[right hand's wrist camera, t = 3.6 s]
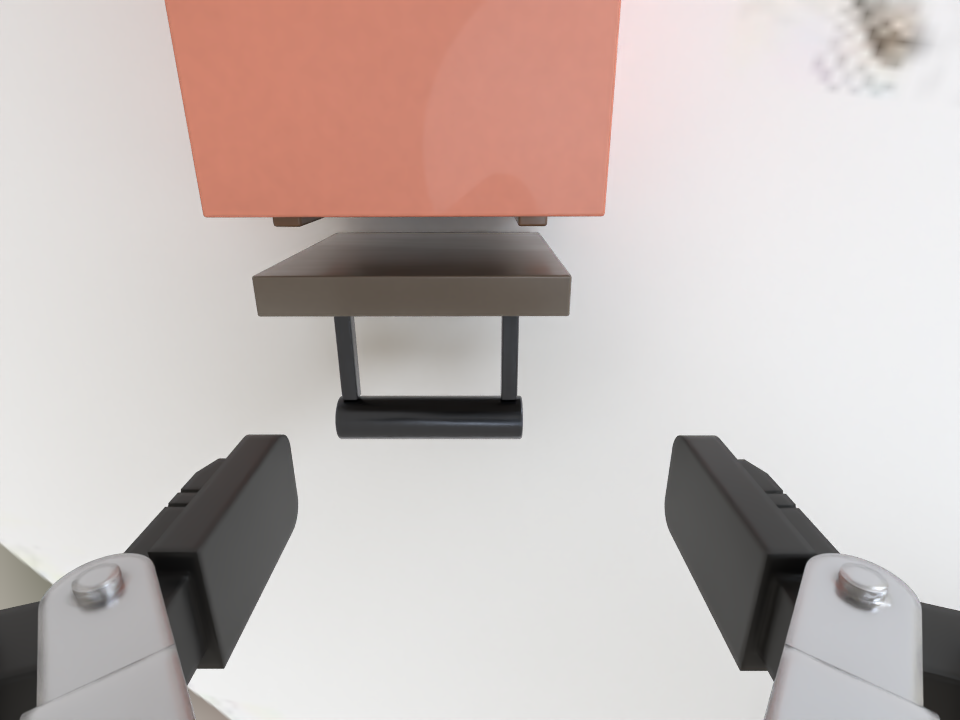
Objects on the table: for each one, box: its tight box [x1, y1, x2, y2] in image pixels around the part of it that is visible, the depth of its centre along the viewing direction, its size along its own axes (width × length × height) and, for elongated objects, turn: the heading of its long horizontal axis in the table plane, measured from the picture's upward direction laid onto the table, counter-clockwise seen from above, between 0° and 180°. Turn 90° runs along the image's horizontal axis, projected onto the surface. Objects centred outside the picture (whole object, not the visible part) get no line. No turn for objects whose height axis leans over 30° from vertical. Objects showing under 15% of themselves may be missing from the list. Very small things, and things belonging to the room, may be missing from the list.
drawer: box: [252, 216, 571, 439], centre depth 18 cm, size 23×9×9 cm, turn 0°
